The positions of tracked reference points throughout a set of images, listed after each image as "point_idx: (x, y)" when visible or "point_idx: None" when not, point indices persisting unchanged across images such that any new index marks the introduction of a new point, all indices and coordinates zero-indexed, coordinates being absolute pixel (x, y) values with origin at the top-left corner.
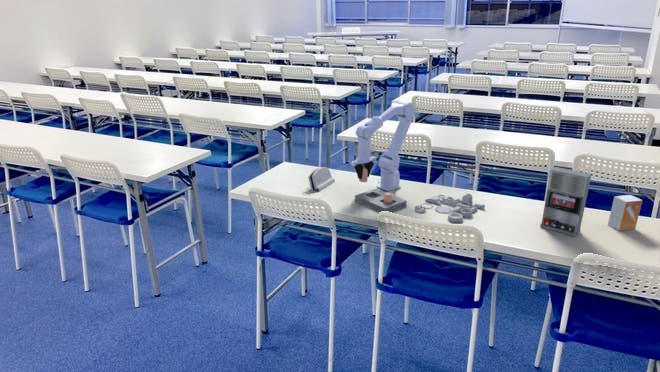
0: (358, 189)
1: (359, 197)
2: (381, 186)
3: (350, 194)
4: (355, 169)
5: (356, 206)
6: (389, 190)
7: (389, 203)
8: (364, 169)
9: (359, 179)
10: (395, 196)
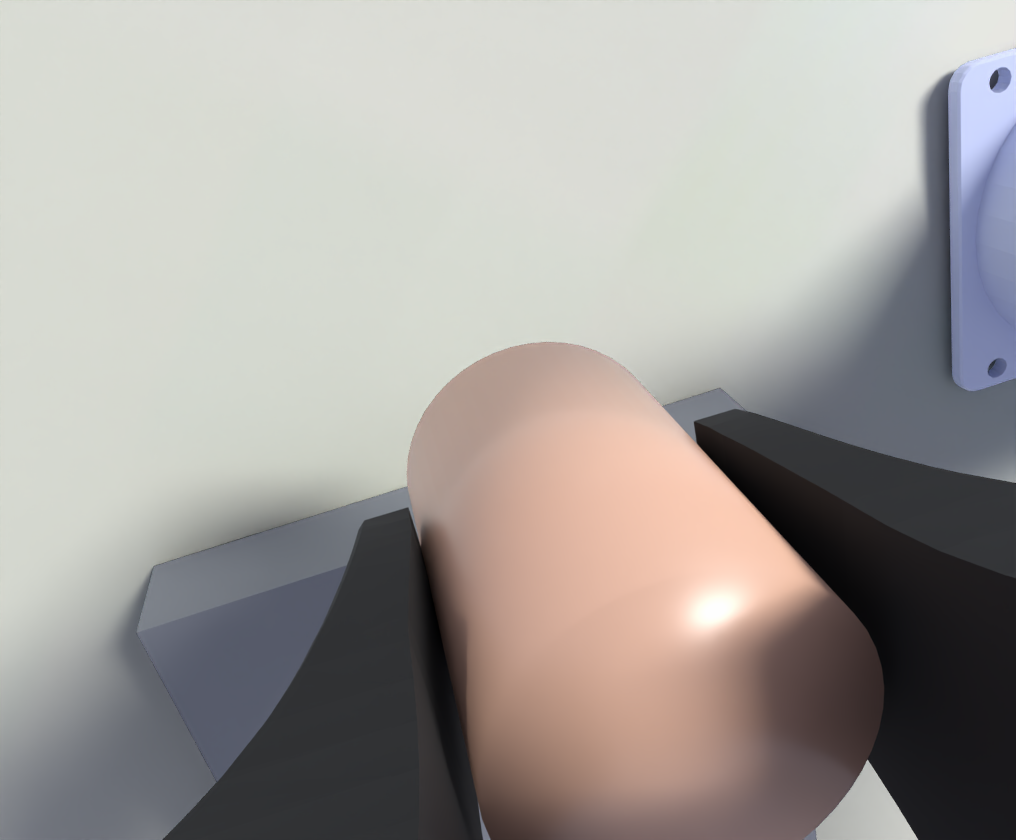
0: (507, 6)
1: (195, 740)
2: (996, 208)
3: (176, 238)
4: (241, 758)
5: (80, 804)
6: (998, 378)
7: None
8: (692, 810)
9: (413, 494)
10: (806, 836)
